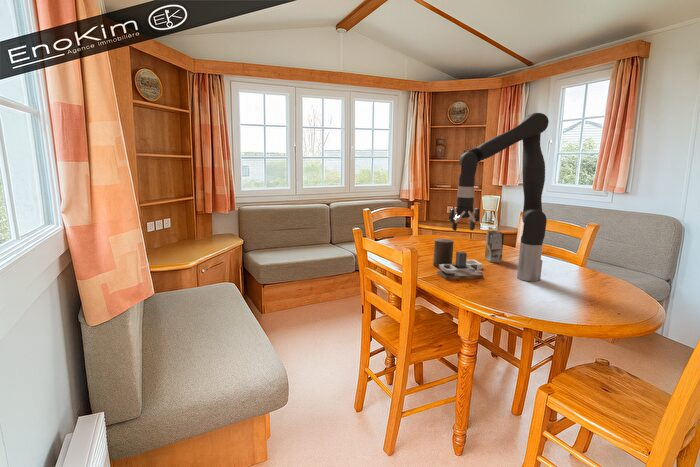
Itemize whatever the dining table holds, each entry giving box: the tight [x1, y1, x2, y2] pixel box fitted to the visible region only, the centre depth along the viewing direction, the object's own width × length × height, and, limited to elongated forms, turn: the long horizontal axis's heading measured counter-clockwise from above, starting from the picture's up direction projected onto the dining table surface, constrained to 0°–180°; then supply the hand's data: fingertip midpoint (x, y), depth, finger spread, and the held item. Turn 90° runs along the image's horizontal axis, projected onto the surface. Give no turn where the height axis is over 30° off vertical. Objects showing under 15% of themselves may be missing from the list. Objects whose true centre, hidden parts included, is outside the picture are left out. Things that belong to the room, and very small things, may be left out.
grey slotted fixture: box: [436, 263, 484, 281], centre depth 180 cm, size 19×10×6 cm, turn 100°
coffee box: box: [484, 230, 505, 263], centre depth 206 cm, size 9×6×16 cm
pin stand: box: [466, 259, 483, 270], centre depth 194 cm, size 9×9×2 cm
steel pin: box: [454, 251, 468, 269], centre depth 179 cm, size 4×4×10 cm
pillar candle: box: [432, 238, 455, 268], centre depth 195 cm, size 10×10×15 cm
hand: (463, 230), depth 176 cm, fingers open, 8 cm apart
